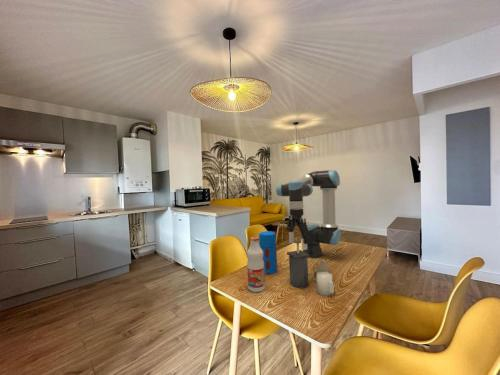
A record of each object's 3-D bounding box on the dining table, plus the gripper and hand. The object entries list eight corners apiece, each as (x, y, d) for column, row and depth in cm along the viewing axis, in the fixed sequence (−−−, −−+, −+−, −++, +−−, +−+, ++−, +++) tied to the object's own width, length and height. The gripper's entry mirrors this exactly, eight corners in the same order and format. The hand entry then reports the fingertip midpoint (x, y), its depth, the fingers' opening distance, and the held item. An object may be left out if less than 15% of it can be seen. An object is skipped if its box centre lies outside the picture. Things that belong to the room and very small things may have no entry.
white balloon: (326, 287, 112) (325, 270, 112) (339, 296, 103) (338, 278, 103) (314, 289, 110) (313, 273, 110) (326, 299, 100) (326, 281, 100)
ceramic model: (332, 284, 114) (331, 266, 114) (311, 281, 119) (310, 264, 119) (333, 274, 127) (333, 258, 127) (314, 271, 132) (314, 256, 132)
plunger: (300, 265, 122) (299, 235, 122) (308, 270, 115) (307, 238, 114) (289, 268, 120) (287, 237, 119) (296, 273, 112) (295, 240, 112)
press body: (299, 276, 126) (298, 248, 126) (312, 285, 114) (311, 255, 114) (285, 279, 123) (284, 251, 122) (296, 289, 111) (295, 258, 110)
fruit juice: (268, 287, 114) (266, 237, 114) (256, 294, 108) (254, 241, 107) (256, 282, 121) (254, 234, 120) (244, 288, 115) (242, 238, 114)
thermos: (276, 275, 129) (274, 235, 128) (259, 274, 131) (257, 235, 130) (277, 268, 140) (276, 231, 139) (261, 267, 142) (260, 231, 141)
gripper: (280, 206, 127) (281, 241, 127) (303, 211, 103) (304, 253, 104) (290, 205, 129) (292, 239, 130) (315, 210, 106) (317, 251, 106)
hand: (297, 246), depth 117 cm, fingers open, 13 cm apart
